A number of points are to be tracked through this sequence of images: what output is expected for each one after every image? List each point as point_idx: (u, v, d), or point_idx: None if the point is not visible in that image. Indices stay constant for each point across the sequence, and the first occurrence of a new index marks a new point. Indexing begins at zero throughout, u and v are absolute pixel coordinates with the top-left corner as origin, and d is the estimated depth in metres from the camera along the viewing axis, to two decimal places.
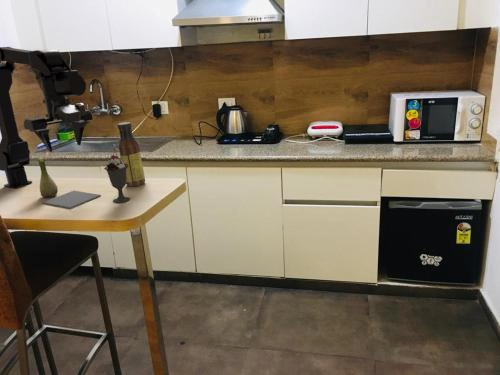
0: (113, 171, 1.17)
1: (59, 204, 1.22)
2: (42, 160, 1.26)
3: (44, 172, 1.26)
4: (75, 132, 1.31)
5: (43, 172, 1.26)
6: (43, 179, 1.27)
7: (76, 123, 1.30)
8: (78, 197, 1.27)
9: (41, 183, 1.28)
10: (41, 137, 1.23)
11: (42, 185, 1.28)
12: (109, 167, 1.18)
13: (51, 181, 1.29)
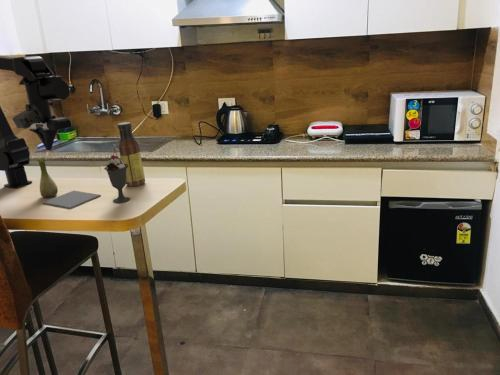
0: (113, 171, 1.17)
1: (59, 204, 1.22)
2: (42, 160, 1.26)
3: (44, 172, 1.26)
4: None
5: (43, 172, 1.26)
6: (43, 179, 1.27)
7: None
8: (78, 197, 1.27)
9: (41, 183, 1.28)
10: None
11: (42, 185, 1.28)
12: (109, 167, 1.18)
13: (51, 181, 1.29)
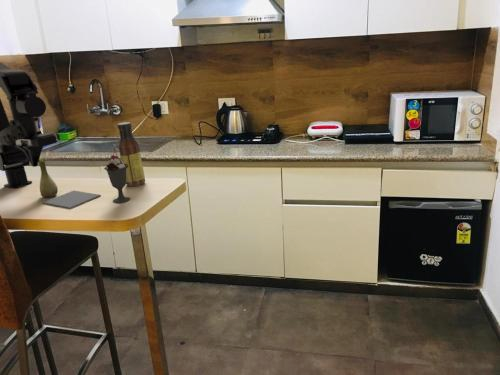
0: (113, 171, 1.17)
1: (59, 204, 1.22)
2: (42, 160, 1.26)
3: (44, 172, 1.26)
4: None
5: (43, 172, 1.26)
6: (43, 179, 1.27)
7: None
8: (78, 197, 1.27)
9: (41, 183, 1.28)
10: None
11: (42, 185, 1.28)
12: (109, 167, 1.18)
13: (51, 181, 1.29)
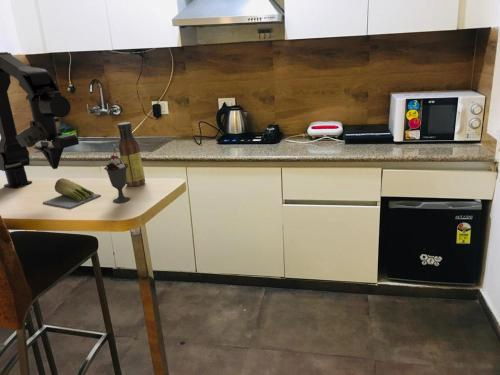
0: (113, 171, 1.17)
1: (59, 204, 1.22)
2: (80, 199, 1.24)
3: (70, 196, 1.25)
4: None
5: (70, 195, 1.24)
6: (65, 191, 1.25)
7: None
8: None
9: (66, 186, 1.26)
10: None
11: (63, 187, 1.26)
12: (109, 167, 1.18)
13: None
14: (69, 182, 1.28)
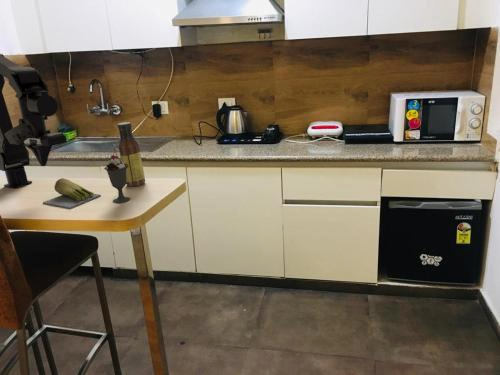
0: (113, 171, 1.17)
1: (59, 204, 1.22)
2: (79, 199, 1.23)
3: (70, 195, 1.24)
4: None
5: (70, 194, 1.24)
6: (65, 191, 1.25)
7: None
8: None
9: (66, 186, 1.26)
10: None
11: (63, 186, 1.26)
12: (109, 167, 1.18)
13: None
14: (69, 182, 1.28)
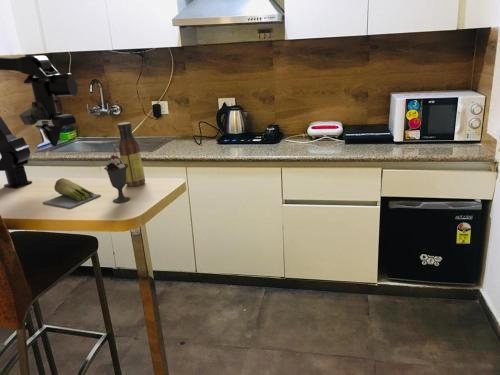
0: (113, 171, 1.17)
1: (59, 204, 1.22)
2: (79, 199, 1.23)
3: (70, 195, 1.24)
4: None
5: (70, 194, 1.24)
6: (65, 191, 1.25)
7: None
8: None
9: (66, 186, 1.26)
10: None
11: (63, 186, 1.26)
12: (109, 167, 1.18)
13: None
14: (69, 182, 1.28)
